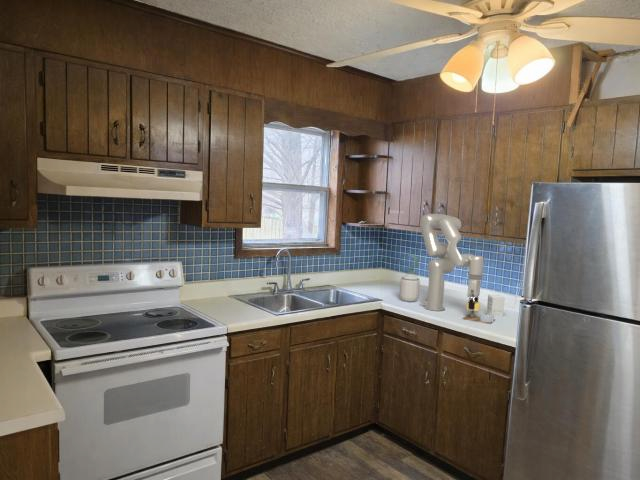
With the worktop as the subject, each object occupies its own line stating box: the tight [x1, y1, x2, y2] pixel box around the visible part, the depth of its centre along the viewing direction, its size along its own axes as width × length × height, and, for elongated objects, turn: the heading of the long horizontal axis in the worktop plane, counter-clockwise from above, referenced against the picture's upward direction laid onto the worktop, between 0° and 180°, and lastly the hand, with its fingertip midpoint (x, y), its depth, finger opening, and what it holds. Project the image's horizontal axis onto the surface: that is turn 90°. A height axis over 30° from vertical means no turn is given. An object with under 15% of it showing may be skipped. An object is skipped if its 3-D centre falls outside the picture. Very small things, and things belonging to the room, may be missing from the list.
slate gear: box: [479, 311, 495, 323], centre depth 266 cm, size 7×7×4 cm
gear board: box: [461, 310, 496, 325], centre depth 268 cm, size 16×13×7 cm
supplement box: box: [486, 294, 505, 318], centre depth 280 cm, size 7×7×13 cm
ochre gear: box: [466, 300, 481, 312], centre depth 269 cm, size 7×7×4 cm
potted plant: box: [399, 253, 421, 303], centre depth 312 cm, size 12×12×31 cm
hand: (473, 307), depth 269 cm, fingers closed on ochre gear, 7 cm apart
